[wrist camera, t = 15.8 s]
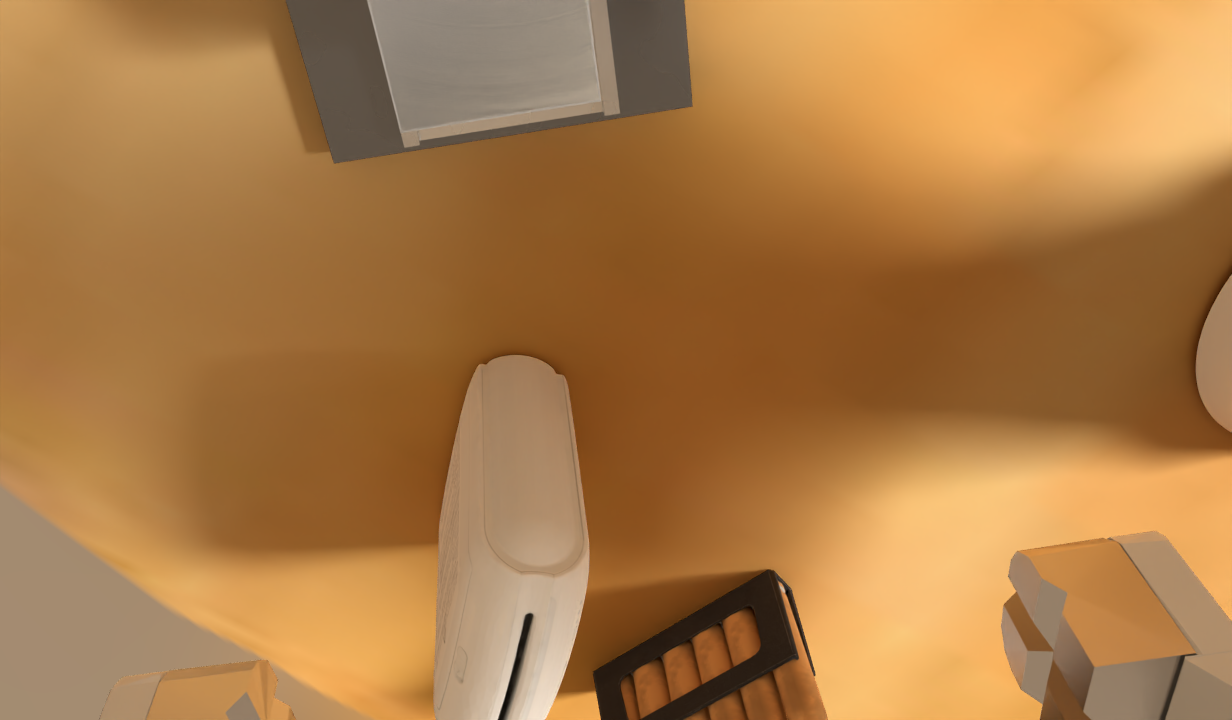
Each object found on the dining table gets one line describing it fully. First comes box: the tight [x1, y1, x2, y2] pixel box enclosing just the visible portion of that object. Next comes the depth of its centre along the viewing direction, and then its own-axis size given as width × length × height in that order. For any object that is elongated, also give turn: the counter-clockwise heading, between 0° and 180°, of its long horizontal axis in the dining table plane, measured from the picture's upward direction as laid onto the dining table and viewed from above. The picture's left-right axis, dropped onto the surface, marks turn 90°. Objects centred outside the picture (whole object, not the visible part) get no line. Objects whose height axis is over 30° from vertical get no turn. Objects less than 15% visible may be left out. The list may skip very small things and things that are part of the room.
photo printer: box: [433, 355, 590, 720], centre depth 37 cm, size 10×4×12 cm, turn 166°
